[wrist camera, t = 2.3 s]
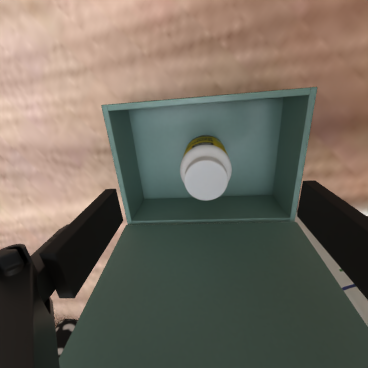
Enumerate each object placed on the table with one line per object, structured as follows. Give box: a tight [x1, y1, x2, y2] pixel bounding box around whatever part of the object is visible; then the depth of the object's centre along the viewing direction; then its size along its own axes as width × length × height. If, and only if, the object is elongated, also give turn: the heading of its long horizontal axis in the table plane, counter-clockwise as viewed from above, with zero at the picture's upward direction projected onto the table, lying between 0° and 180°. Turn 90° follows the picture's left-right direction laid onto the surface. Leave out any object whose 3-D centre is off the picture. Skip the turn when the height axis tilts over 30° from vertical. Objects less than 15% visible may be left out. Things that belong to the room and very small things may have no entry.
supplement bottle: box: [180, 135, 232, 201], centre depth 22 cm, size 5×5×10 cm
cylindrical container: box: [295, 212, 368, 326], centre depth 19 cm, size 7×7×25 cm
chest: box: [101, 87, 317, 225], centre depth 24 cm, size 14×20×7 cm
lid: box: [59, 222, 368, 368], centre depth 17 cm, size 15×20×1 cm
